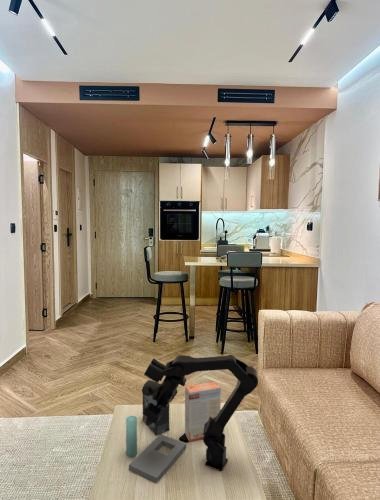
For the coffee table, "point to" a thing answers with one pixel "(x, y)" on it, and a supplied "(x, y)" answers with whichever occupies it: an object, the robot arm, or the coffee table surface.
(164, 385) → the robot arm
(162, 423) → the small box
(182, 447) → the socket plate
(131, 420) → the peg
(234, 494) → the coffee table surface
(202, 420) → the cracker box
